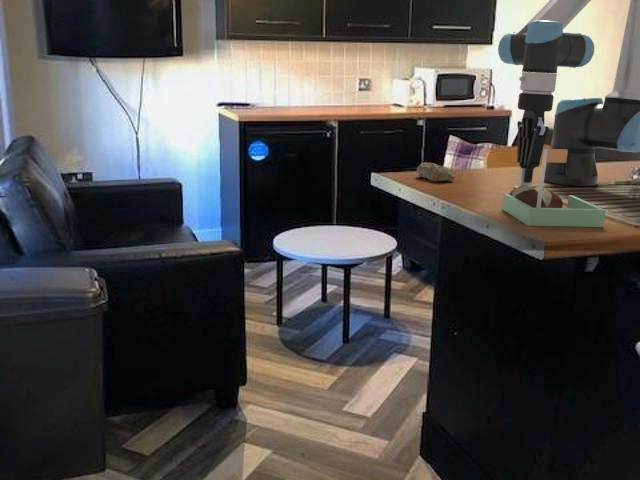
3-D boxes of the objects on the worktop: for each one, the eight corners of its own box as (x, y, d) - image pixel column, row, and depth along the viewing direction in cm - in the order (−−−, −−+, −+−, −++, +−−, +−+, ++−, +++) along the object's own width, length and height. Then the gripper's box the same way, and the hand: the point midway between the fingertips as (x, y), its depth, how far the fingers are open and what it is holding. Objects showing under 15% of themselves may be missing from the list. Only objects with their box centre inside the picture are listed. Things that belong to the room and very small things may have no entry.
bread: (502, 202, 159) (504, 181, 158) (549, 204, 160) (552, 183, 158) (516, 213, 148) (519, 191, 147) (568, 215, 149) (571, 192, 148)
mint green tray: (570, 210, 153) (580, 141, 149) (603, 227, 139) (614, 151, 135) (502, 209, 152) (510, 139, 148) (527, 225, 138) (537, 148, 133)
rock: (437, 184, 181) (439, 168, 179) (411, 177, 190) (412, 161, 189) (459, 182, 185) (460, 166, 183) (432, 175, 194) (433, 160, 192)
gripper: (510, 90, 159) (498, 189, 165) (531, 93, 147) (517, 200, 153) (541, 91, 160) (528, 190, 166) (564, 95, 147) (550, 201, 154)
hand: (523, 195), depth 159 cm, fingers closed
